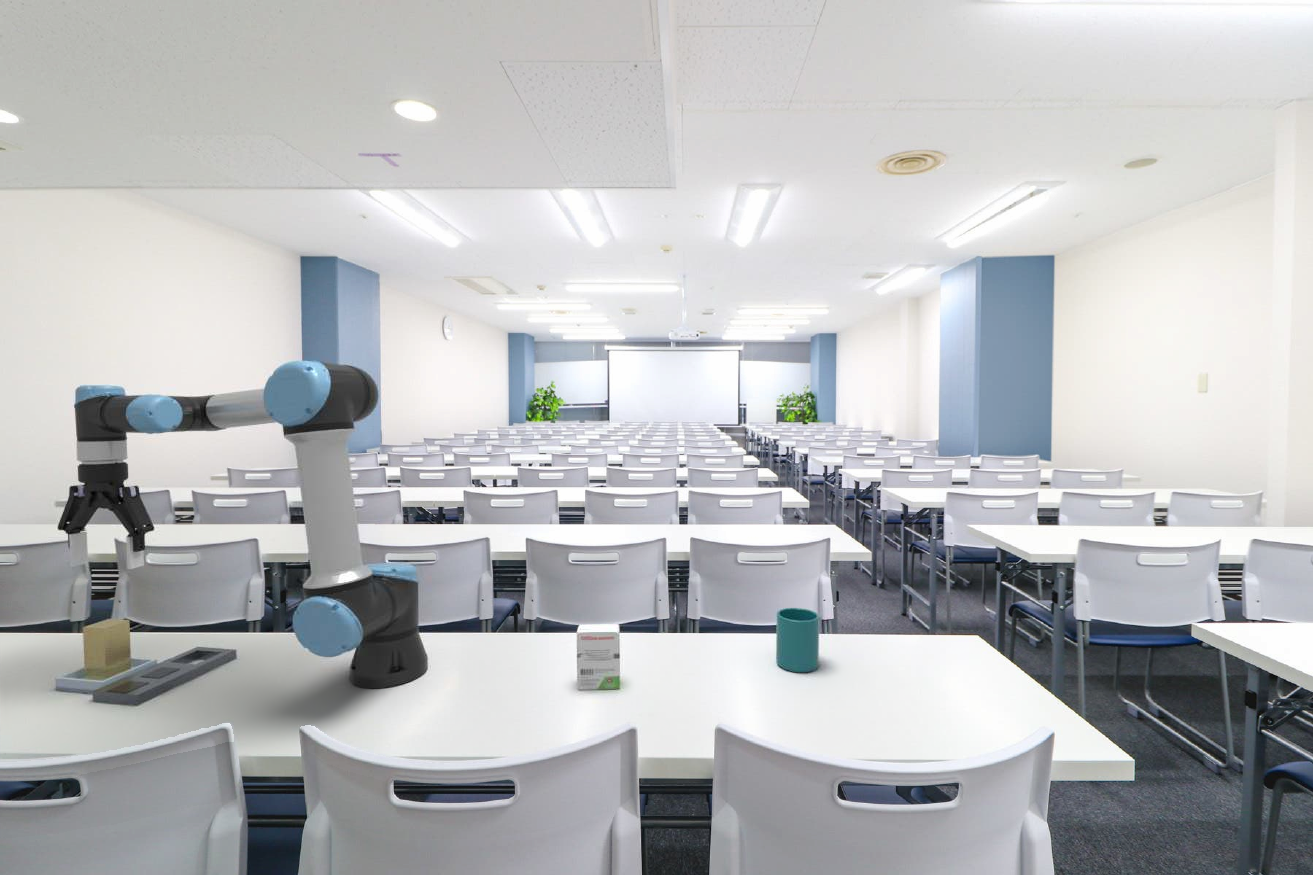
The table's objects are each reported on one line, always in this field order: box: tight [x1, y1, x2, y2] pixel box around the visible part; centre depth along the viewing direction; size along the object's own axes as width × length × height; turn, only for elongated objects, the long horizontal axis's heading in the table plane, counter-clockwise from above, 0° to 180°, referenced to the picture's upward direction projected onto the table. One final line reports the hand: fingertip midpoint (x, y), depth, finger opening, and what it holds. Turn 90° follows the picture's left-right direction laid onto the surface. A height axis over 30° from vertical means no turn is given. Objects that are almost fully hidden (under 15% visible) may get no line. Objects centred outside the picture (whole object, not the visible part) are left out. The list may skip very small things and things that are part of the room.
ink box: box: [576, 623, 621, 691], centre depth 123 cm, size 9×5×12 cm, turn 93°
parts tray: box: [54, 657, 158, 695], centre depth 124 cm, size 11×11×2 cm
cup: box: [775, 607, 820, 674], centre depth 134 cm, size 9×12×11 cm
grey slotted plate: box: [92, 646, 238, 707], centre depth 125 cm, size 10×22×2 cm, turn 171°
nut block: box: [82, 618, 132, 681], centre depth 124 cm, size 5×5×11 cm
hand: (107, 566), depth 123 cm, fingers open, 13 cm apart
